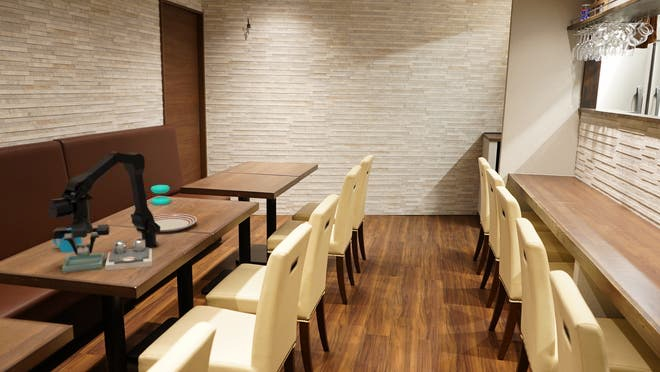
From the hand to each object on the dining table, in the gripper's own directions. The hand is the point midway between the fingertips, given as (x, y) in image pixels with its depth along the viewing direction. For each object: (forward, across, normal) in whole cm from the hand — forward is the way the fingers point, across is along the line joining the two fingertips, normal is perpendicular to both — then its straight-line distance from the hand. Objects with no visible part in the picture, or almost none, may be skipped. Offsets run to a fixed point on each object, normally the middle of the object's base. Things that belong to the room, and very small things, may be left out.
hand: (83, 253), depth 199 cm
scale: (+4, +16, -1) cm, 17 cm away
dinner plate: (+5, +31, +47) cm, 56 cm away
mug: (+5, -9, +23) cm, 25 cm away
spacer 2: (+2, +12, +4) cm, 13 cm away
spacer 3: (+2, +19, +4) cm, 20 cm away
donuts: (+5, +29, +100) cm, 104 cm away
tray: (+4, 0, 0) cm, 4 cm away
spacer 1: (0, 0, 0) cm, 1 cm away
